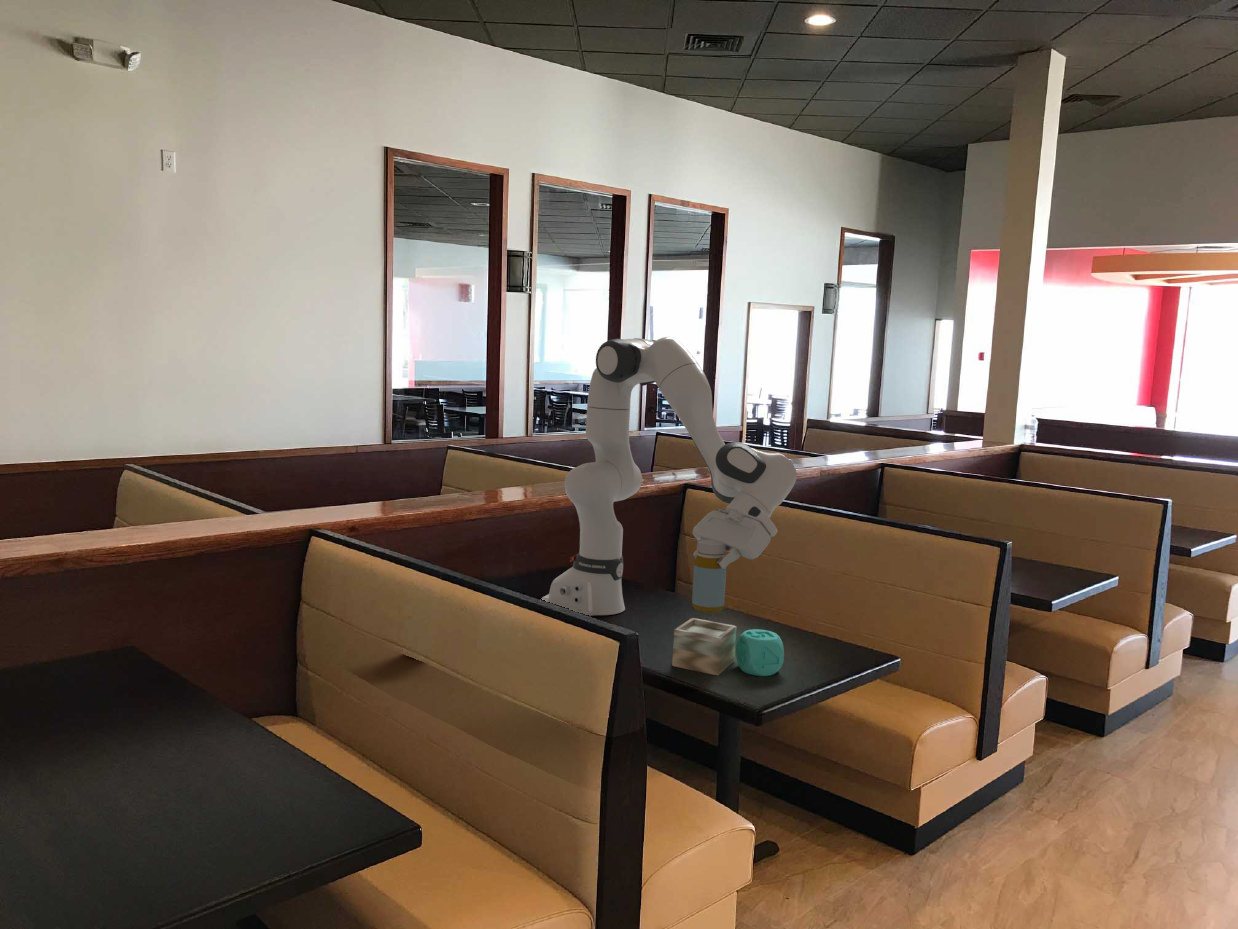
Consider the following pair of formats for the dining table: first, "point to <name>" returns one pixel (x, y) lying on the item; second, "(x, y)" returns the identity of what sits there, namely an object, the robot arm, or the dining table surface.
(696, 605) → the bottle
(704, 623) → the open square box
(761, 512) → the robot arm
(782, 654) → the decorative dice
